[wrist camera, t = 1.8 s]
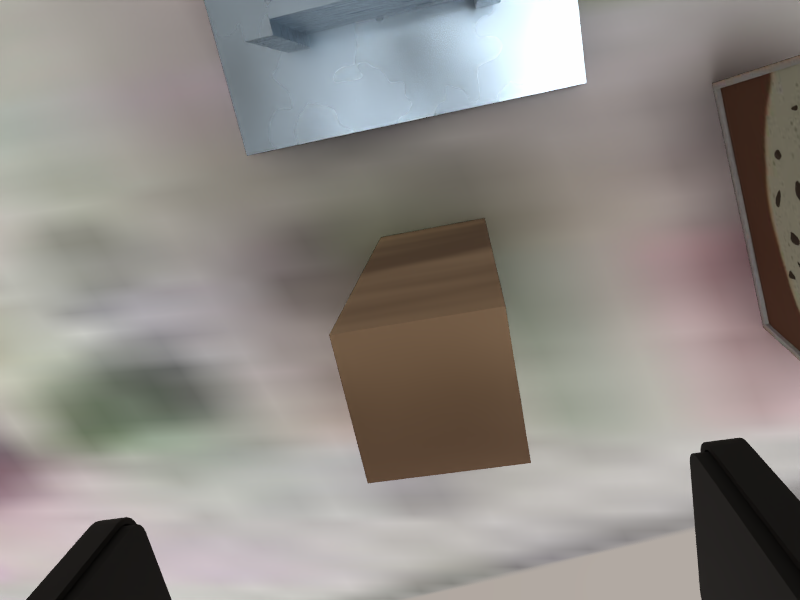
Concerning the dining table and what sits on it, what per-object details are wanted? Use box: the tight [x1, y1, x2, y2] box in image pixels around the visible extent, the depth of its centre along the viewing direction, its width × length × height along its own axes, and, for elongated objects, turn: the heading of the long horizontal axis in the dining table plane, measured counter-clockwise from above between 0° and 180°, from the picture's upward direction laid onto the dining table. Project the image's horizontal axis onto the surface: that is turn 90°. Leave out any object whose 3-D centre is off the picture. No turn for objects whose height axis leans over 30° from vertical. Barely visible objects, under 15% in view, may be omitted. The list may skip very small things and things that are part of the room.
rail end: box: [329, 218, 531, 483], centre depth 19 cm, size 4×4×10 cm
